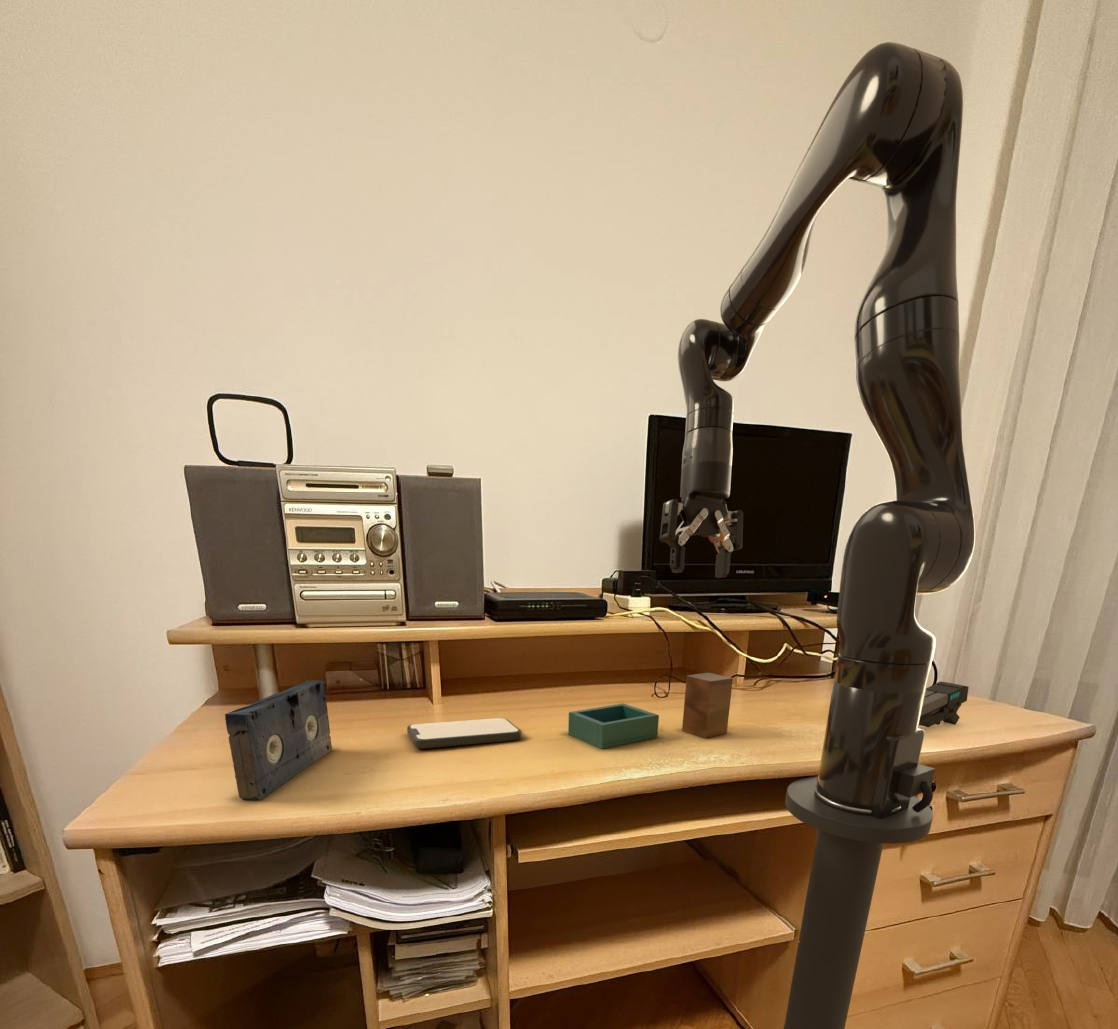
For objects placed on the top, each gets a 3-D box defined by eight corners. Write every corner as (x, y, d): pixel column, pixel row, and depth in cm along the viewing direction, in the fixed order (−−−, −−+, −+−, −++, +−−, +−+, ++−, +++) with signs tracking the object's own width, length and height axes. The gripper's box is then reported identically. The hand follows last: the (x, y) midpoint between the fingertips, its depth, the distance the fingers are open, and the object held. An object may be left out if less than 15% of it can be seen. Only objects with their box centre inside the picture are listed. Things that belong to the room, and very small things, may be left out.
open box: (657, 737, 91) (659, 714, 90) (601, 749, 85) (602, 725, 84) (622, 724, 98) (623, 703, 97) (568, 734, 92) (568, 712, 91)
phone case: (505, 726, 96) (406, 734, 90) (505, 716, 96) (405, 724, 90) (523, 742, 89) (416, 751, 83) (524, 731, 88) (416, 740, 82)
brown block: (726, 733, 94) (733, 677, 91) (705, 738, 91) (710, 681, 88) (703, 726, 98) (708, 672, 95) (681, 730, 95) (686, 675, 92)
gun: (968, 722, 101) (970, 669, 96) (893, 776, 94) (891, 722, 90) (942, 716, 104) (942, 665, 100) (867, 767, 98) (864, 715, 93)
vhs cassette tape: (316, 748, 83) (307, 679, 80) (336, 749, 83) (328, 680, 80) (234, 800, 66) (219, 714, 63) (259, 801, 66) (245, 715, 63)
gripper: (683, 451, 85) (677, 568, 87) (759, 467, 91) (751, 576, 93) (654, 466, 91) (648, 573, 94) (726, 480, 97) (719, 581, 100)
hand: (699, 574), depth 93 cm, fingers open, 8 cm apart
